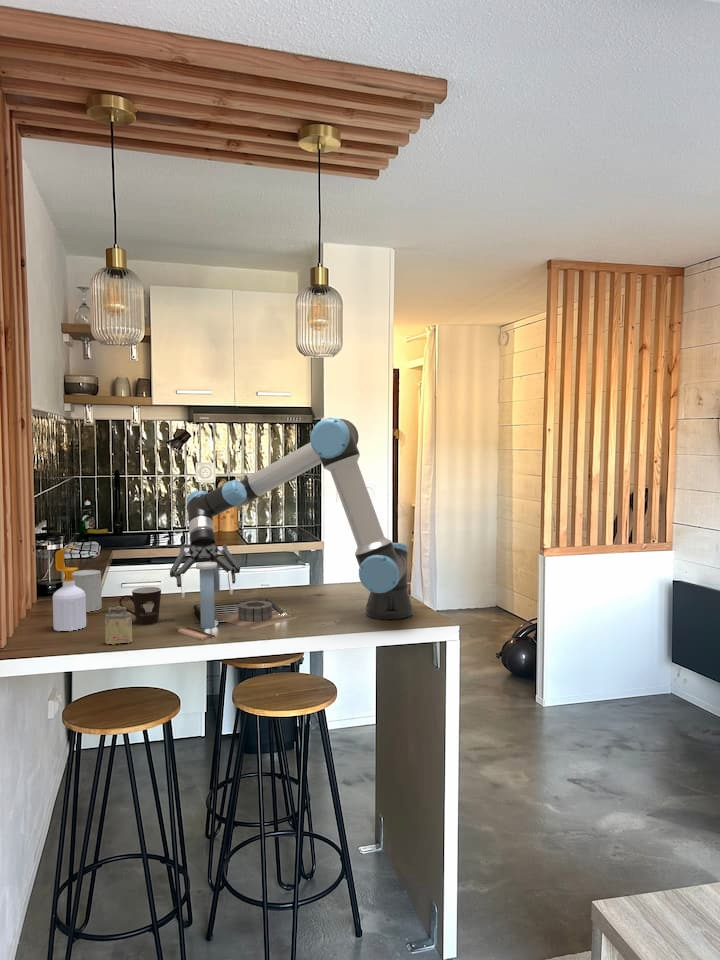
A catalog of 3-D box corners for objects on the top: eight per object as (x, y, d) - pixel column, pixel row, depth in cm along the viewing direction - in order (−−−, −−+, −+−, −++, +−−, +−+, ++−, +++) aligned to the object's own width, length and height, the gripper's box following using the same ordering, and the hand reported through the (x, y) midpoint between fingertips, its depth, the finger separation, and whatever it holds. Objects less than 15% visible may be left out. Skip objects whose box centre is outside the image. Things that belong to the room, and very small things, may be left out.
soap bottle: (76, 632, 204) (74, 548, 203) (47, 631, 205) (44, 548, 204) (92, 624, 213) (90, 543, 212) (63, 623, 214) (61, 543, 213)
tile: (237, 631, 205) (237, 628, 205) (202, 640, 196) (202, 637, 196) (212, 624, 213) (212, 621, 213) (178, 632, 204) (178, 629, 204)
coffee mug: (165, 618, 220) (164, 586, 219) (156, 625, 211) (156, 593, 211) (128, 618, 220) (127, 586, 220) (118, 625, 212) (117, 592, 211)
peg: (222, 628, 205) (221, 563, 204) (205, 632, 201) (203, 566, 199) (210, 625, 209) (209, 561, 208) (193, 629, 205) (191, 563, 204)
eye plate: (299, 622, 215) (299, 604, 215) (252, 634, 202) (252, 615, 201) (257, 611, 228) (257, 594, 228) (211, 622, 215) (211, 604, 215)
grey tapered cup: (78, 605, 237) (77, 569, 236) (106, 606, 236) (105, 569, 236) (65, 612, 227) (64, 575, 226) (94, 613, 227) (93, 575, 226)
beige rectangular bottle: (133, 640, 196) (132, 605, 196) (131, 644, 193) (130, 608, 192) (106, 641, 195) (105, 606, 194) (104, 645, 191) (103, 609, 191)
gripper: (241, 540, 222) (249, 597, 209) (159, 544, 215) (162, 604, 201) (244, 525, 217) (252, 583, 203) (159, 529, 209) (162, 589, 196)
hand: (207, 593), depth 202 cm, fingers open, 13 cm apart
